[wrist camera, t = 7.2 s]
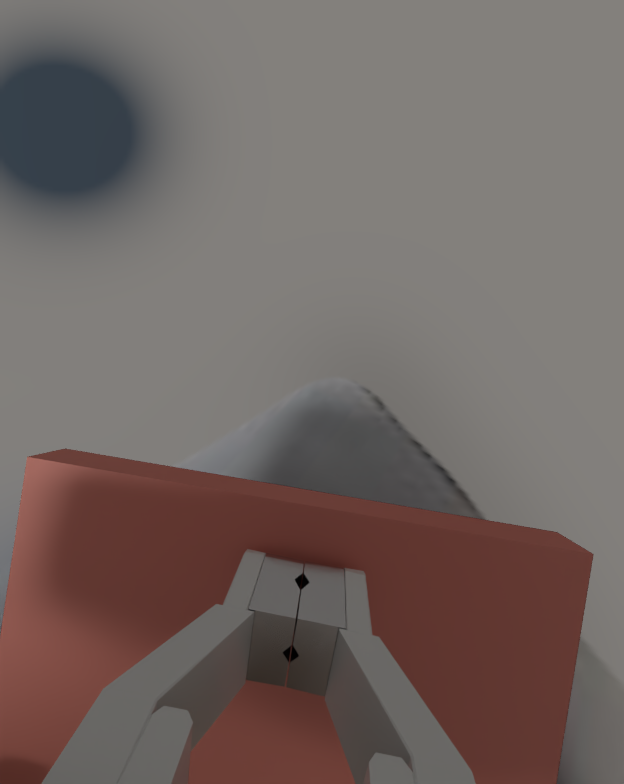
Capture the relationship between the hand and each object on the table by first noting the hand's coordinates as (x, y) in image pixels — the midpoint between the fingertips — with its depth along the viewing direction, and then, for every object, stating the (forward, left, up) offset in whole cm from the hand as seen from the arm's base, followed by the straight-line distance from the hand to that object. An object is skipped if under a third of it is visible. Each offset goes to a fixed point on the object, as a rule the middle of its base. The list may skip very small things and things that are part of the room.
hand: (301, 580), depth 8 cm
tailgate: (0, -6, -4) cm, 7 cm away
